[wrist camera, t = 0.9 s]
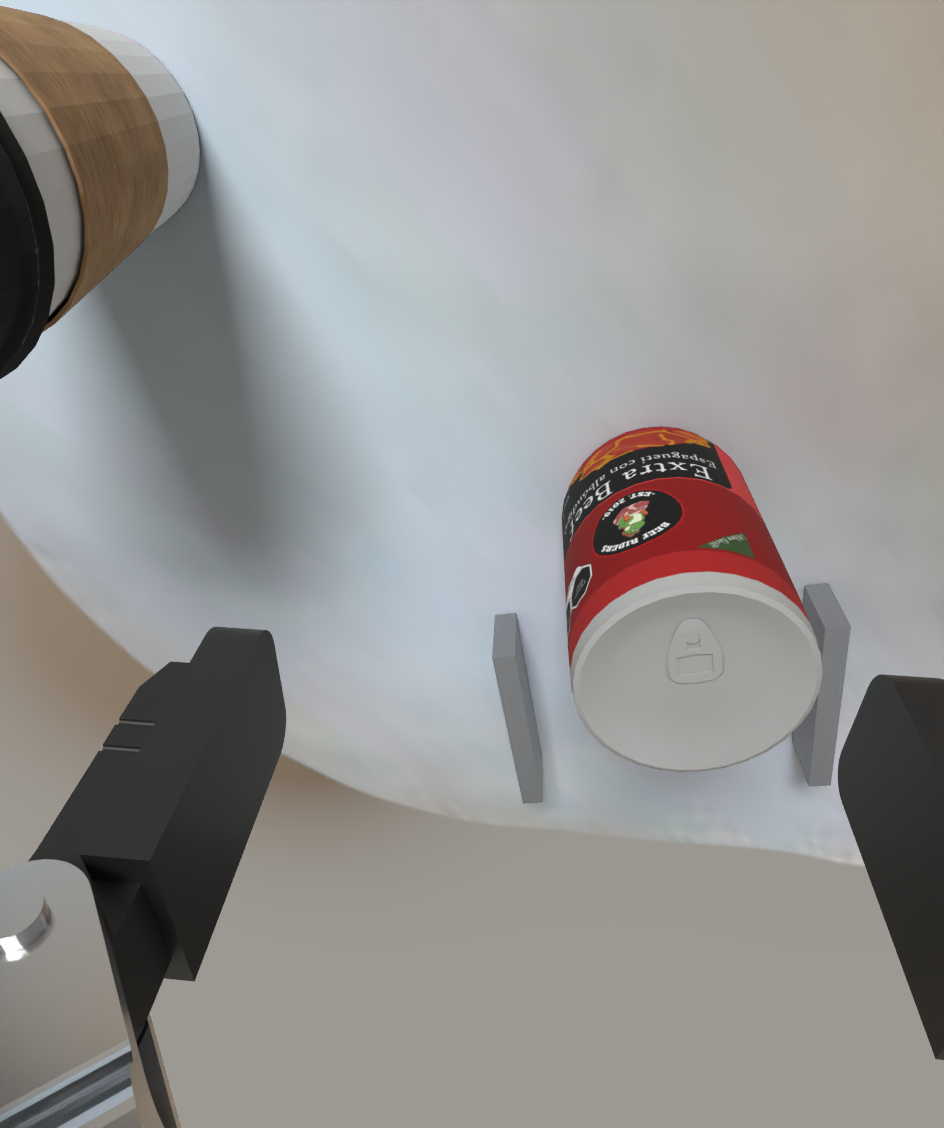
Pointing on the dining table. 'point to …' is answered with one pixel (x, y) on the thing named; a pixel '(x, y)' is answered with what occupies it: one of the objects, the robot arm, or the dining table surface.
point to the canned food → (680, 607)
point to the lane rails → (808, 738)
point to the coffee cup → (80, 165)
